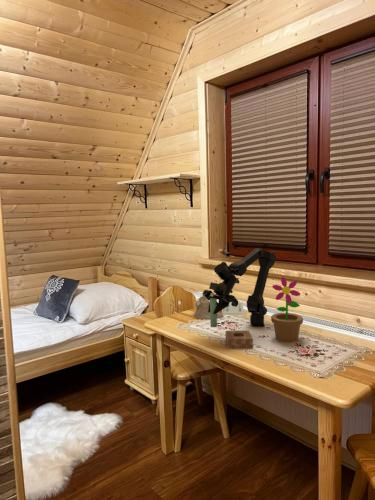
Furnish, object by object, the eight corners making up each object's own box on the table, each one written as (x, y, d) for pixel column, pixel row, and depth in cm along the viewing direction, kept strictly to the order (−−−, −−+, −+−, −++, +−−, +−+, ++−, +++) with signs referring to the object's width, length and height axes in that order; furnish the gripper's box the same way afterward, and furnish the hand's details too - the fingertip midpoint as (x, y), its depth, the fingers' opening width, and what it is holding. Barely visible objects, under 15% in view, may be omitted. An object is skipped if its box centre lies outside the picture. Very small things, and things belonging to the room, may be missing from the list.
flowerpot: (269, 342, 168) (269, 277, 165) (273, 332, 182) (273, 272, 178) (301, 345, 163) (302, 278, 160) (303, 334, 177) (304, 273, 173)
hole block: (249, 338, 173) (249, 330, 173) (252, 347, 162) (252, 338, 162) (225, 339, 174) (225, 330, 173) (227, 347, 163) (227, 339, 162)
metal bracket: (221, 299, 226) (246, 299, 224) (221, 307, 228) (245, 307, 226) (220, 312, 212) (247, 312, 211) (221, 320, 215) (247, 321, 213)
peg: (216, 325, 173) (216, 297, 171) (217, 327, 170) (216, 299, 168) (210, 325, 173) (209, 298, 171) (210, 327, 170) (210, 299, 168)
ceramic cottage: (224, 318, 205) (222, 291, 204) (195, 320, 205) (193, 293, 204) (221, 312, 221) (220, 287, 220) (194, 314, 221) (192, 289, 220)
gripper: (204, 273, 178) (188, 299, 172) (234, 278, 164) (217, 307, 158) (216, 286, 184) (200, 312, 178) (245, 292, 170) (229, 320, 164)
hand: (211, 313), depth 170 cm, fingers closed on peg, 3 cm apart
